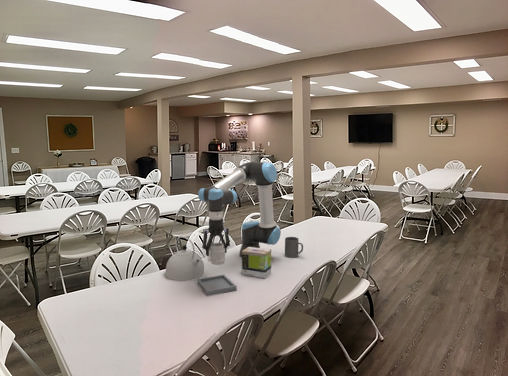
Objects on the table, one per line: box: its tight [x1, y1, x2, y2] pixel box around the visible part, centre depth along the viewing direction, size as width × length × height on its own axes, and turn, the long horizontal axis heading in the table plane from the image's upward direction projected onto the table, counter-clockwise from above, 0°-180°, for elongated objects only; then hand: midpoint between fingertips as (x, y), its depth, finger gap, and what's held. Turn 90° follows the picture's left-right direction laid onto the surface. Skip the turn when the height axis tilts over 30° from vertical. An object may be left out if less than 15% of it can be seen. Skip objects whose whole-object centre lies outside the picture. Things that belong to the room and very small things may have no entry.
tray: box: [196, 274, 238, 297], centre depth 206 cm, size 18×16×2 cm
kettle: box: [165, 235, 205, 282], centre depth 223 cm, size 25×23×22 cm
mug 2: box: [284, 236, 304, 259], centre depth 257 cm, size 14×9×12 cm
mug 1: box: [209, 240, 226, 266], centre depth 203 cm, size 8×12×12 cm, turn 44°
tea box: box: [241, 247, 272, 279], centre depth 225 cm, size 15×10×15 cm, turn 65°
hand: (216, 260), depth 204 cm, fingers closed on mug 1, 7 cm apart
